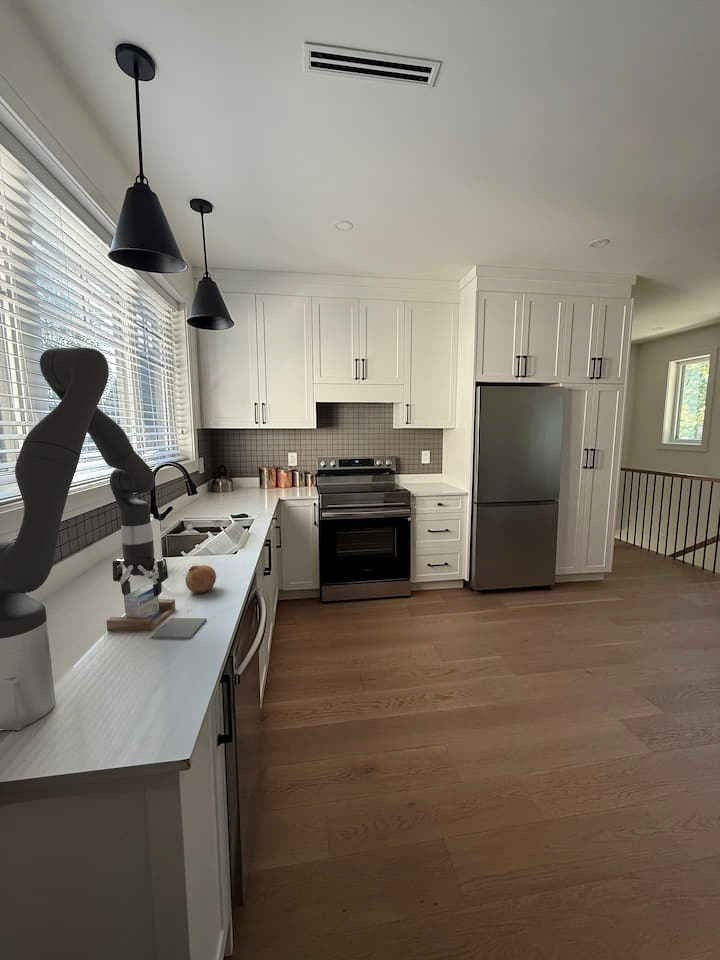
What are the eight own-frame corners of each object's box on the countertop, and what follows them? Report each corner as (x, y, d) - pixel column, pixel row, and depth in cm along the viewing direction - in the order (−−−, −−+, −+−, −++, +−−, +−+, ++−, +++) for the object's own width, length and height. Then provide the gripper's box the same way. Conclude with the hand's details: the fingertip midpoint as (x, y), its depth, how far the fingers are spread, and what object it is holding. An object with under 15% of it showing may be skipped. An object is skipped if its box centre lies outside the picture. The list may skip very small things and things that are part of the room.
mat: (190, 639, 100) (189, 636, 100) (151, 638, 101) (151, 636, 100) (206, 620, 110) (206, 618, 110) (171, 619, 110) (171, 617, 110)
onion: (190, 602, 129) (173, 578, 126) (206, 584, 137) (191, 561, 134) (211, 596, 125) (194, 571, 122) (227, 578, 134) (211, 554, 131)
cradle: (150, 631, 104) (149, 621, 103) (107, 631, 104) (106, 620, 104) (175, 609, 117) (174, 599, 117) (137, 608, 117) (136, 598, 117)
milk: (150, 567, 154) (147, 511, 151) (163, 568, 152) (159, 512, 149) (137, 572, 148) (133, 514, 145) (150, 573, 146) (147, 515, 144)
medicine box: (139, 627, 106) (137, 596, 105) (125, 625, 107) (123, 595, 106) (160, 614, 114) (158, 585, 113) (146, 612, 115) (144, 584, 114)
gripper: (103, 543, 104) (108, 601, 107) (155, 543, 104) (160, 601, 106) (120, 535, 112) (125, 589, 114) (170, 535, 111) (174, 590, 114)
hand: (142, 595), depth 110 cm, fingers open, 8 cm apart
